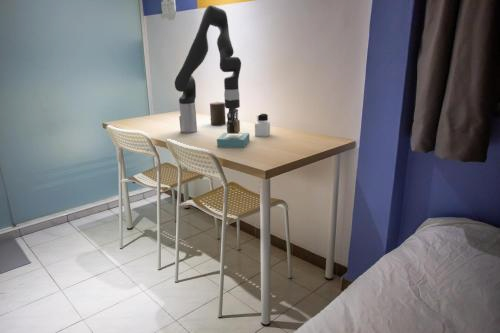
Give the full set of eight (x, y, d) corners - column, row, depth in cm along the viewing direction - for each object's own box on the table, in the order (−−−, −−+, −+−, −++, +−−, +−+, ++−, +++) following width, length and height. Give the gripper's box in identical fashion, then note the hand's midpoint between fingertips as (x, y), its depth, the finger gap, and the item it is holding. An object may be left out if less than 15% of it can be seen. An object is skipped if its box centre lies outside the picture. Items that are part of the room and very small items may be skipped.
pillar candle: (223, 125, 239) (222, 102, 234) (208, 125, 241) (207, 102, 236) (227, 122, 248) (226, 100, 243) (213, 122, 250) (212, 100, 245)
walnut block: (227, 133, 192) (226, 121, 190) (229, 131, 197) (229, 119, 195) (237, 133, 190) (237, 122, 189) (239, 131, 196) (239, 119, 194)
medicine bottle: (270, 133, 214) (269, 113, 210) (267, 136, 207) (266, 115, 204) (258, 133, 216) (257, 112, 212) (254, 136, 209) (254, 115, 206)
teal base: (217, 146, 190) (216, 138, 189) (224, 139, 203) (224, 132, 202) (244, 147, 188) (243, 139, 186) (249, 140, 201) (249, 132, 199)
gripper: (228, 96, 195) (229, 127, 201) (221, 100, 182) (222, 134, 187) (242, 96, 194) (243, 128, 199) (236, 100, 181) (237, 134, 186)
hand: (233, 130), depth 193 cm, fingers closed on walnut block, 5 cm apart
